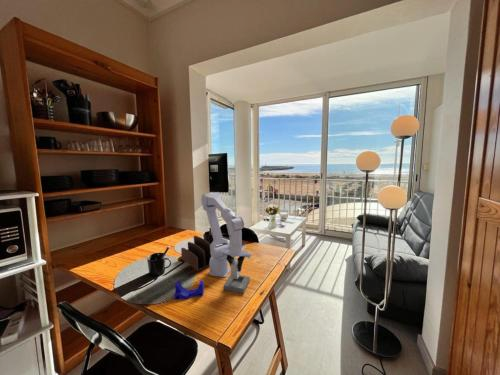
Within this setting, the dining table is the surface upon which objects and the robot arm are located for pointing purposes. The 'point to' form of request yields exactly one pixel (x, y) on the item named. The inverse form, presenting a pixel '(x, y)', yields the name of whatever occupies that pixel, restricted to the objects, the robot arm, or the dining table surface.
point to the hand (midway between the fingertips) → (236, 270)
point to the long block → (235, 269)
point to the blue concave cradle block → (188, 291)
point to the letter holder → (197, 253)
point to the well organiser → (237, 284)
